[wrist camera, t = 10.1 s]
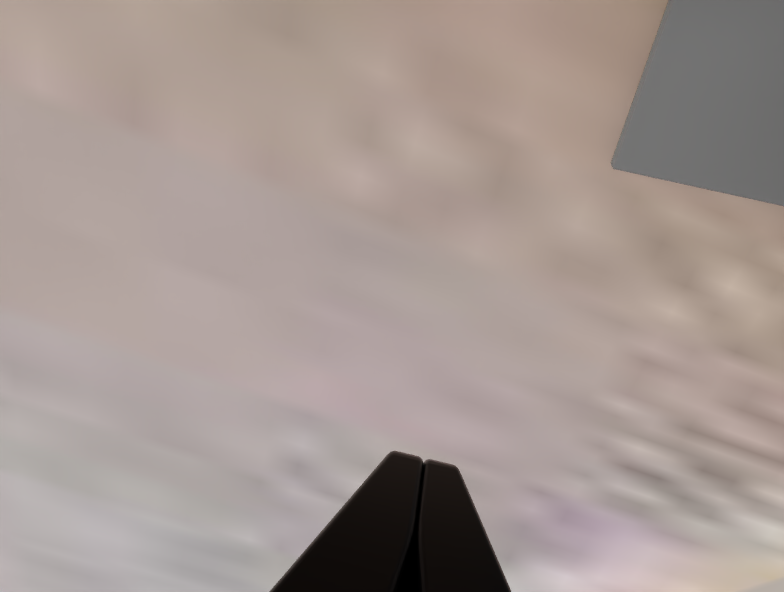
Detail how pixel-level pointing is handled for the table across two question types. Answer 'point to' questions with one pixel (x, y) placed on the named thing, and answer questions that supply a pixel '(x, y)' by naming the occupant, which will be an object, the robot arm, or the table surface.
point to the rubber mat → (712, 100)
